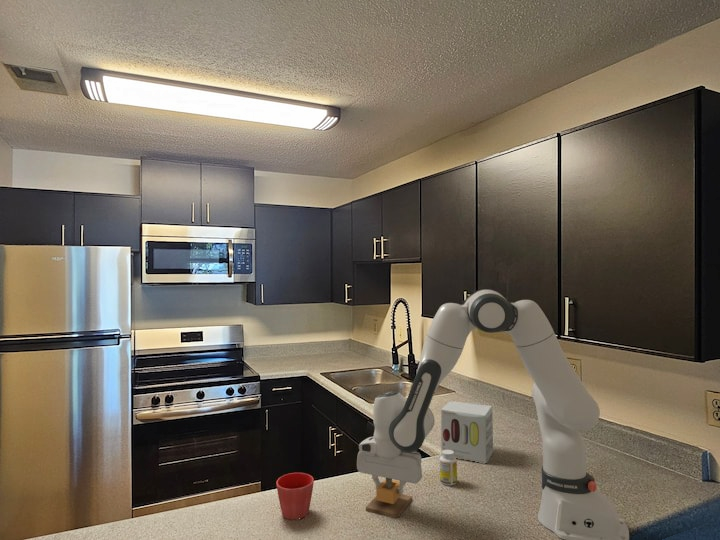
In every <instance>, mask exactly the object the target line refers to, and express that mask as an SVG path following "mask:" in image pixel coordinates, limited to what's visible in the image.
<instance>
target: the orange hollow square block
mask: <svg viewBox="0 0 720 540" xmlns="http://www.w3.org/2000/svg"><path fill="white" fill-rule="evenodd" d="M398 486H401V484H400V481H399V480H395V479H392V489H391V490H390V489H386V478H385V479H384V480H383V481H382V482H381V484H380V485H379V486H378V487H377V488H376V487H375V490H376V496H375V497H377V500H378V501H382V502H386V503H390V504H394V503H395V502H396V500H397V499H398V498H399V497H400V496H401V495H399V494H397V490H396V489H397V488H398Z"/></svg>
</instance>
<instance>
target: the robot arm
mask: <svg viewBox="0 0 720 540" xmlns="http://www.w3.org/2000/svg"><path fill="white" fill-rule="evenodd" d="M476 329H477V330H480V331H482V332H484V333H489V334H493V333H495V334H496V333H502V332H507V333H509V335H510V337H511V339H512V342H513V344H514V346H515V348H516V350H517V351H516V352H518V356H520V359H521V361H522V364H523V366H524V368H525V370H526V372H527V373H528V375H529V376H530V377H531V379H532V380H533V385H532V387H531V397H532V398H533V401H534V404H535V408H536V414H537V420H538V425H539V430H540V434H541V443H542V445H541V446H542V466H541V470H540V483H541V484H540V485H541V489H542V490H541V492H542V494H541V500H540V506H539V510H538V514H537V520H538V521H539V523H540V524H541V525H542V526H543V527H545V528H546V529H548V530H550V531H552V532H553V533H554V534H555V535H556V536H557V537H558V538H560V539H562V540H630V531H629V527H628V525H627V524H626V522H625V521H624V520H623V519H622V518H620V517H619V514H618V513H619V512H618V511H617V508H616V506H615V504H614V503H613V502H612V500H610V498H608V497H607V496H606V495H604V494H603V493H601V491H599V490H598V489H597V483H596V481H595V478H594V474H593V473H591V474H590V473H589V472H587V451H586V450H587V447H586V443H585V440H584V438H583V436H582V433H581V432H585V431H589V430H591V429H592V428H594V427H595V426H596V425H597V423H598V422H599V419H600V406H599V404H598V403H597V401H596V399H595V398H594V397H593V396H592V395H591V394H590V393H589V391H588V390H587V388H586V386H585V384H584V382H583V381H582V380H581V378H580V377H579V375H578V374H577V372H576V371H575V369H574V367H573V366H572V365H571V363H570V361H569V360H568V358H567V356H566V354H565V352H564V350H563V349H562V346H561V344H560V342H559V340H558V338H557V336H556V332H555V331H554V328H553V327H552V325H551V323H550V321H549V319H548V318H547V316H546V315H545V313H544V311H543V309H541V307H540V306H539V304H538V303H537V302H535V301H534V300H531V299H521V300H517V301H515V302H510V301H508V300H507V299H506V298H505V297H504V295H502V294H501V293H500V292H498V291H496V290H494V289H491V288H480V289H478V290H476V291H473V292H472V293H471V294H470V295H469V296H468V297H466V298H465V299H464V300H462V302H461V304H460V303H456V302H455V303H454V302H446V303H444V304H442V305H440V306H439V308H438V309H437V312H436V313H435V315H434V316H433V318H432V321H431V323H430V325H429V327H428V330H427V334H426V336H425V339H424V342H423V346H422V349H421V354H420V357H419V358H420V359H419V363H418V366H417V370H416V374H415V377H414V380H413V382H412V385H411V388H410V391H409V393H408V395H407V397H405V396H404V395H402V393H401V392H399V391H397V390H388V391H384V392H382V393H380V394H378V395H377V396H375V398H374V402H373V414H372V415H373V419H372V420H373V421H372V422H373V426H374V432H373V436H369V437H367V438H365V439H364V440H362V441H361V442H360V443H359V444H358V449H359V451H358V453H357V456H356V457H357V458H356V469H357V471H358V472H359V473H360V474H365V475H366V474H367V475H370V476H371V480H372V481H373V482H374V484H375V489H376V488H377V487H378V486H379V485H380V484H381V483H382V482H381V481H380V479H379V478H385V479H386V478H390V479H392V480H394V481H399V482H400V484H401V486H398V488H397V489H396V490H397V494H399V495H402V494H404V487H405V485H406V483H410V484H418V483H419V482H420V481H421V480H422V477H423V471H422V455H421V454H420V452H419V451H418V450H419V449H420V448H421V447H422V446H423V443H424V442H425V440H426V438H427V437H428V435H429V434H430V433H431V431H432V430H433V427H434V425H435V416H434V413H433V412H432V410H431V408H429V407H430V405H431V403H432V400H433V397H434V395H435V392H436V391H437V388H438V387H439V386H440V385H441V383H442V382H443V381H444V379H445V378H446V377H447V376H448V375H449V374H450V373H451V372H452V370H454V368H455V367H456V364H458V361H459V359H460V357H461V355H462V354H463V351H464V347H465V345H466V342H467V338H468V337H469V335H471V332H472V331H474V330H476Z"/></svg>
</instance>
